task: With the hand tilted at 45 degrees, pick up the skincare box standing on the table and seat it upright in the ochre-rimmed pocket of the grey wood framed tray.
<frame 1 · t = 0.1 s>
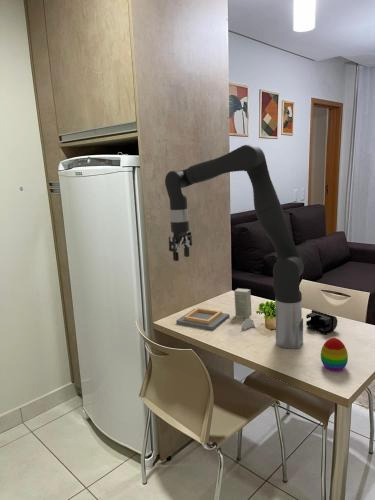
hand: (181, 258, 158), 29 cm above the table, tool pointing down, fingers open, 8 cm apart
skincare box: (243, 316, 170), on the table
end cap: (321, 329, 152), on the table
decorative egg: (333, 367, 122), on the table
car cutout: (240, 331, 155), on the table
grey wood framed tray: (203, 320, 167), on the table
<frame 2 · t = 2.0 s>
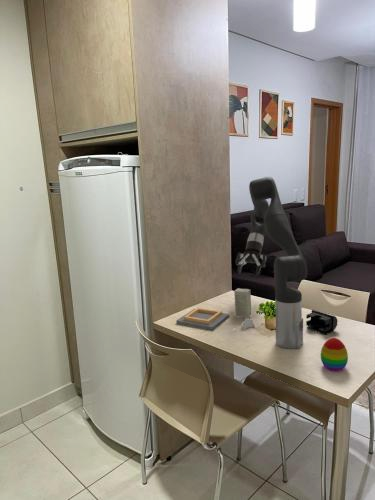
hand: (247, 273, 176), 17 cm above the table, tool tilted 45°, fingers open, 8 cm apart
nothing on the table moved.
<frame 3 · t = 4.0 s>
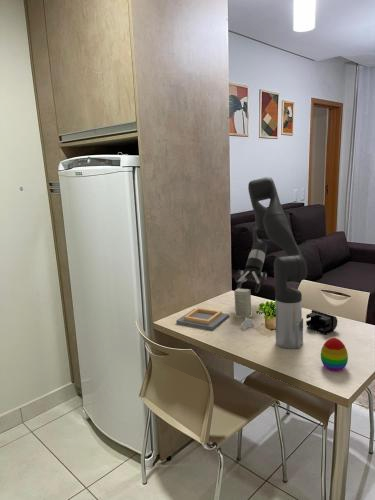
hand: (246, 291, 172), 10 cm above the table, tool tilted 45°, fingers open, 8 cm apart
nothing on the table moved.
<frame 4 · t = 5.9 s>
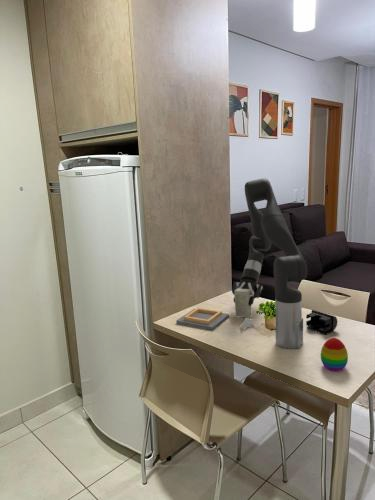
hand: (242, 303, 168), 6 cm above the table, tool tilted 45°, fingers closed on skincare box, 6 cm apart
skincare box: (243, 316, 170), on the table, touching gripper
everything else where it was.
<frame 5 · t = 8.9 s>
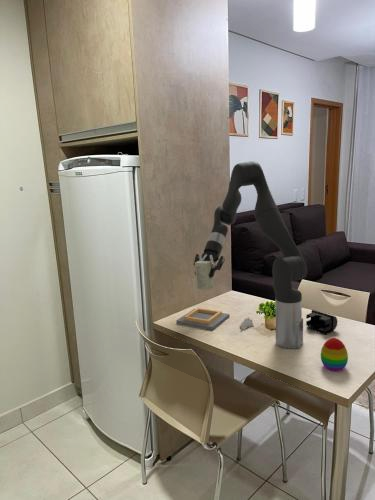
hand: (203, 276, 163), 20 cm above the table, tool tilted 45°, fingers closed on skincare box, 6 cm apart
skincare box: (204, 289, 165), point 14 cm above the table, touching gripper
everything else where it was.
when the fingers open (8 cm above the table, at t = 11.9 s): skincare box stays where it is, resting on grey wood framed tray.
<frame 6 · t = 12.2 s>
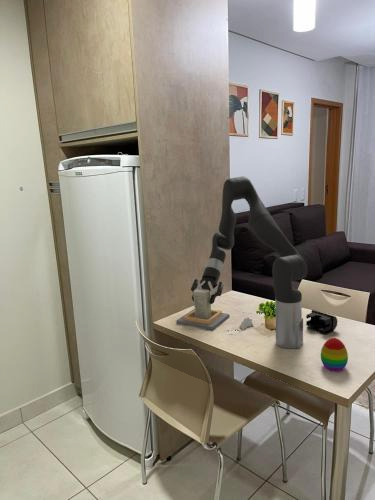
hand: (202, 302, 165), 9 cm above the table, tool tilted 45°, fingers open, 8 cm apart
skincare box: (203, 317, 167), point 1 cm above the table, touching grey wood framed tray
everything else where it was.
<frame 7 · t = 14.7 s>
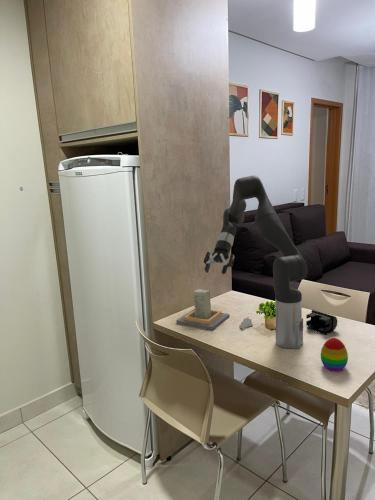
hand: (214, 272, 174), 19 cm above the table, tool tilted 45°, fingers open, 8 cm apart
nothing on the table moved.
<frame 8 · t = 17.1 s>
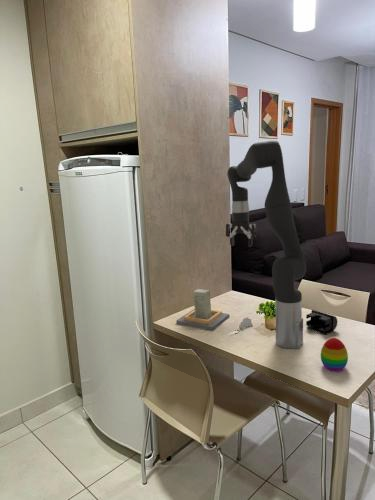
hand: (241, 246, 174), 30 cm above the table, tool pointing down, fingers open, 8 cm apart
at the end: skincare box 0.2 cm off-centre on the grey wood framed tray, point 1.3 cm above the grey wood framed tray's base; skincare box tilted 0°; the gripper is holding nothing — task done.
